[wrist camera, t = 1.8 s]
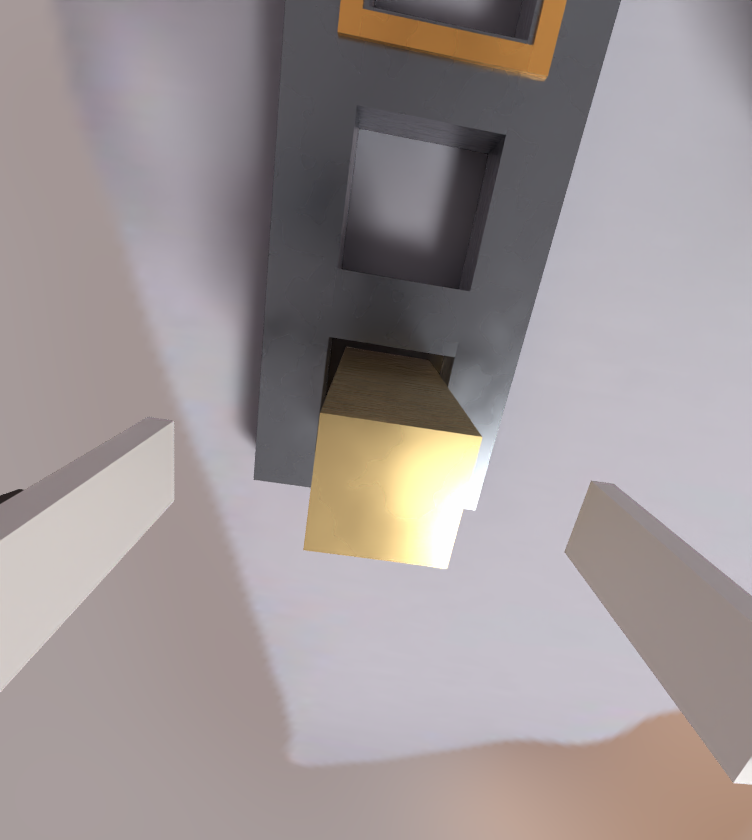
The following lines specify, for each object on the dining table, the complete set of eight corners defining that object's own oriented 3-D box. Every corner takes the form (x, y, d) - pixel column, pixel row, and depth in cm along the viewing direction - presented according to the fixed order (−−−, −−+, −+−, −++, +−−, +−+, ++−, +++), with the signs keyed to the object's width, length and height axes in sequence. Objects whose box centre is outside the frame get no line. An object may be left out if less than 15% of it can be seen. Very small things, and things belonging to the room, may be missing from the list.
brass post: (346, 346, 21) (320, 412, 11) (428, 360, 21) (482, 437, 11) (335, 424, 22) (303, 550, 12) (412, 436, 23) (446, 568, 12)
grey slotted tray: (320, -257, 14) (308, -378, 11) (643, -174, 15) (700, -271, 12) (265, 459, 23) (252, 481, 21) (465, 487, 24) (476, 512, 21)
